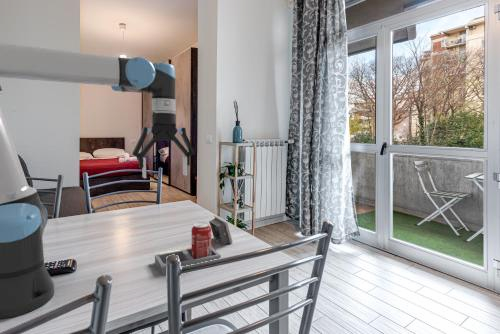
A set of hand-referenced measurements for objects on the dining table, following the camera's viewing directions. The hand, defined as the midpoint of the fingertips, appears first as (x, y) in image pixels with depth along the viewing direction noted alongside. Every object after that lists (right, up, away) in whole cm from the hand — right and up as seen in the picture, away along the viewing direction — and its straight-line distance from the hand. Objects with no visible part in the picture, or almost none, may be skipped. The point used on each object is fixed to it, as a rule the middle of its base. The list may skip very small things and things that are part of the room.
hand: (165, 176), depth 105 cm
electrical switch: (+18, -26, +14) cm, 34 cm away
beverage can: (+13, -28, -2) cm, 31 cm away
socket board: (+9, -28, -5) cm, 29 cm away
